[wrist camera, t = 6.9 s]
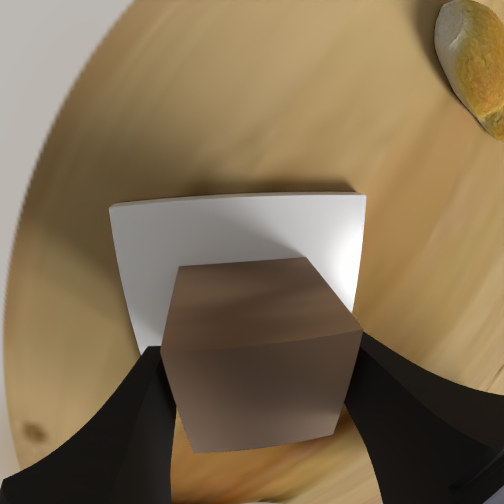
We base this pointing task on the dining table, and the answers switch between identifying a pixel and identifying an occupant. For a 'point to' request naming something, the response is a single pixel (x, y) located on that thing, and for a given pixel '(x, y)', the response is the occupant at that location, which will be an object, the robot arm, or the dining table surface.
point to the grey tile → (231, 243)
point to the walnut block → (257, 353)
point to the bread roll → (474, 59)
